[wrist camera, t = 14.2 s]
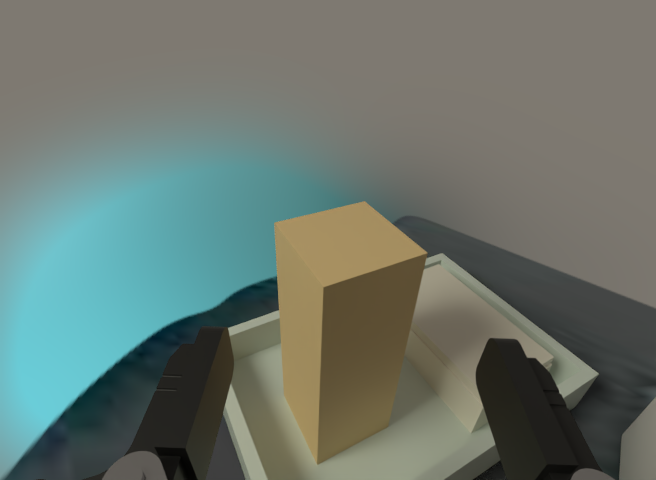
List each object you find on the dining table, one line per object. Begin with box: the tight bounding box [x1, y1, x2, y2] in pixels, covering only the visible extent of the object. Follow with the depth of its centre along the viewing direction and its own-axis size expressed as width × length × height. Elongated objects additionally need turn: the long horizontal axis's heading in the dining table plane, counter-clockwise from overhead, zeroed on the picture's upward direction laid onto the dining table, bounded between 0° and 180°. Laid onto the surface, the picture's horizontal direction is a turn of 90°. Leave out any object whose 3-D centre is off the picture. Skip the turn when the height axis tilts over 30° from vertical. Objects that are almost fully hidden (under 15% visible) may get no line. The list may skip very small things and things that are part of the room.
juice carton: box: [274, 202, 427, 465], centre depth 23 cm, size 6×6×15 cm
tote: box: [223, 253, 599, 480], centre depth 29 cm, size 24×16×4 cm, turn 119°
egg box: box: [404, 264, 554, 433], centre depth 31 cm, size 7×12×4 cm, turn 29°
